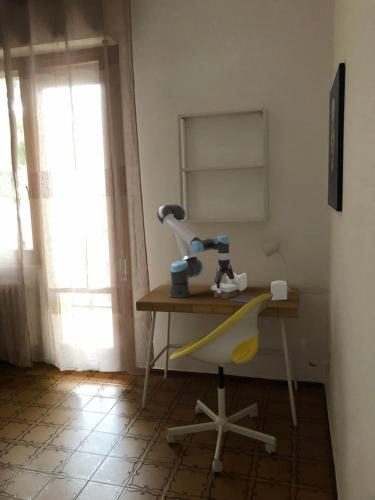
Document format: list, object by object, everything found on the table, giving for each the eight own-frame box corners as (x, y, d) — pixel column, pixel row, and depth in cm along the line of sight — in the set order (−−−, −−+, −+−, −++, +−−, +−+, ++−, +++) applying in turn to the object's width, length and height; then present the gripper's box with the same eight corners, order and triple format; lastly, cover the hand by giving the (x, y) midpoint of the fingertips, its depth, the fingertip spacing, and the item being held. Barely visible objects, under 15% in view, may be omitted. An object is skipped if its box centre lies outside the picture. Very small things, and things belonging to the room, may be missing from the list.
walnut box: (214, 296, 276) (214, 289, 275) (221, 294, 282) (220, 287, 281) (229, 299, 268) (229, 291, 268) (235, 296, 274) (235, 289, 274)
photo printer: (272, 301, 260) (272, 281, 258) (270, 299, 264) (270, 280, 262) (288, 300, 260) (288, 280, 259) (285, 298, 265) (285, 279, 263)
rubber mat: (229, 300, 265) (229, 299, 265) (240, 295, 275) (240, 295, 275) (250, 303, 255) (250, 302, 255) (262, 298, 265) (262, 298, 265)
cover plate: (211, 289, 275) (211, 286, 274) (220, 286, 283) (220, 283, 283) (229, 292, 266) (228, 288, 266) (238, 288, 274) (238, 285, 274)
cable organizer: (240, 292, 285) (240, 276, 283) (226, 291, 289) (225, 275, 288) (247, 288, 298) (246, 272, 297) (233, 287, 303) (233, 271, 301)
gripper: (217, 262, 260) (218, 295, 263) (238, 256, 279) (239, 287, 282) (208, 261, 265) (209, 293, 267) (229, 256, 284) (230, 286, 286)
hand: (225, 290), depth 275 cm, fingers open, 13 cm apart
